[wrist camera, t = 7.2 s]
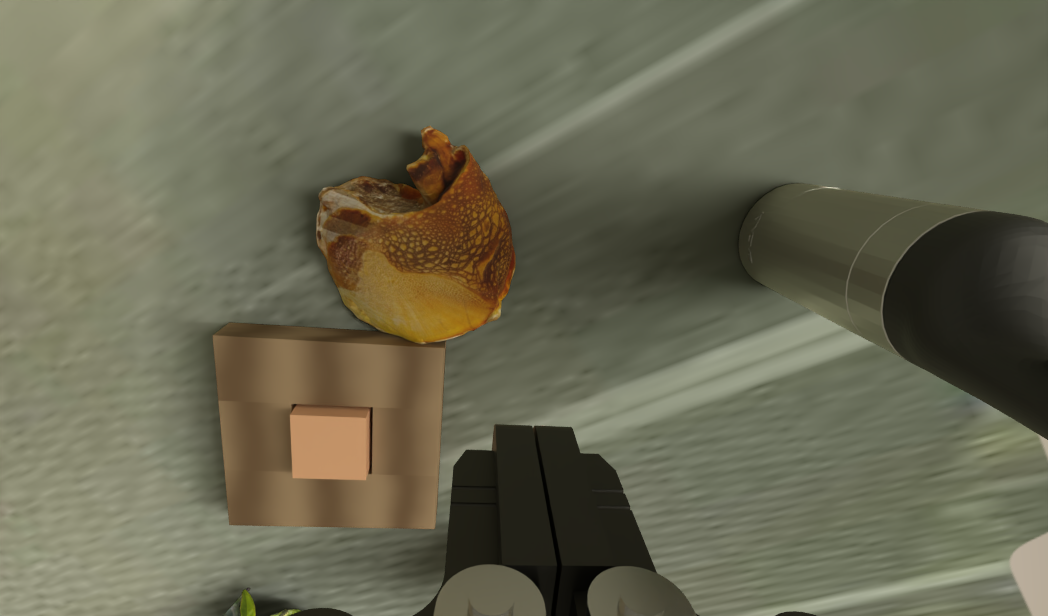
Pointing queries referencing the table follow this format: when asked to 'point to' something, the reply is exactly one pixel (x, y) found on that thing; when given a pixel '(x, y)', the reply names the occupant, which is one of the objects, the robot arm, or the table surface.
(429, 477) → the button plate
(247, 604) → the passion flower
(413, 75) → the table surface
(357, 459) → the push button
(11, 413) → the table surface
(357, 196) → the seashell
